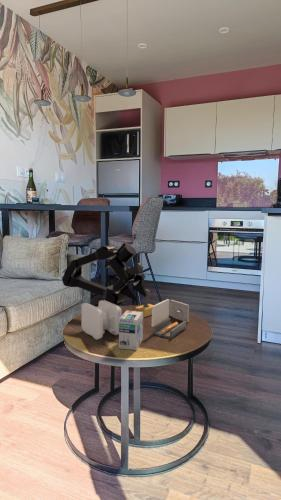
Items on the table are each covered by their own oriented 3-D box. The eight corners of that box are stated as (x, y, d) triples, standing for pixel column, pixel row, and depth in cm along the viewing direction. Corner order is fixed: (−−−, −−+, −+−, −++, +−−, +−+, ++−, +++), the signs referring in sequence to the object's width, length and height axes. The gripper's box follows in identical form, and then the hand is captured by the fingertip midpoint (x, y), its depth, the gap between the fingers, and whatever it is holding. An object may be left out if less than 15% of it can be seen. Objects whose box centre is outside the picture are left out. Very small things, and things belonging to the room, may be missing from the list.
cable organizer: (79, 330, 132) (80, 301, 131) (102, 325, 138) (103, 298, 137) (98, 342, 120) (99, 311, 119) (122, 336, 126) (123, 306, 125)
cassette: (189, 322, 146) (190, 305, 145) (186, 322, 145) (187, 305, 144) (171, 315, 155) (171, 299, 155) (168, 315, 154) (168, 299, 154)
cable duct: (153, 334, 129) (153, 327, 129) (168, 324, 141) (168, 318, 141) (171, 338, 125) (172, 331, 125) (185, 328, 137) (186, 321, 137)
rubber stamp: (143, 317, 150) (144, 291, 149) (134, 315, 154) (135, 289, 153) (157, 313, 158) (158, 288, 157) (147, 310, 162) (148, 286, 160)
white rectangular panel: (153, 326, 129) (151, 326, 129) (168, 317, 141) (166, 317, 141) (153, 306, 128) (152, 306, 128) (169, 299, 140) (167, 299, 140)
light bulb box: (137, 350, 113) (137, 320, 112) (117, 348, 114) (118, 318, 113) (143, 339, 124) (143, 311, 123) (125, 337, 125) (126, 309, 124)
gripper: (119, 259, 131) (142, 291, 127) (142, 255, 147) (164, 283, 143) (103, 276, 136) (124, 307, 132) (127, 271, 152) (147, 298, 148)
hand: (141, 298), depth 139 cm, fingers open, 7 cm apart
